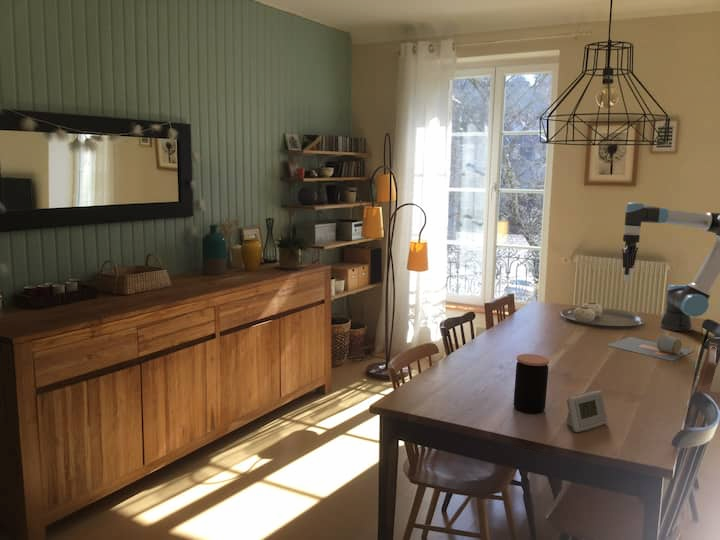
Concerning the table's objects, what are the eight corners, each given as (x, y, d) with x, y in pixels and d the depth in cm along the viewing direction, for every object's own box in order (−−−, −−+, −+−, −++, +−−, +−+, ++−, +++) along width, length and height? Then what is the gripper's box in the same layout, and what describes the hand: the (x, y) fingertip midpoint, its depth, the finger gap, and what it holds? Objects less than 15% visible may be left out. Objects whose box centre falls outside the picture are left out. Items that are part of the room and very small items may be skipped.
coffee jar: (550, 408, 227) (554, 358, 224) (535, 417, 219) (540, 365, 216) (522, 400, 234) (526, 351, 231) (507, 408, 226) (511, 358, 223)
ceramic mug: (673, 356, 293) (675, 339, 292) (655, 351, 300) (657, 334, 299) (684, 352, 300) (687, 336, 299) (667, 348, 306) (669, 332, 305)
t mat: (629, 337, 324) (629, 336, 324) (693, 351, 303) (693, 351, 303) (606, 345, 308) (606, 345, 308) (672, 361, 286) (672, 360, 286)
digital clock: (574, 434, 206) (577, 402, 204) (555, 423, 214) (558, 392, 213) (615, 428, 212) (618, 396, 210) (595, 417, 220) (598, 387, 219)
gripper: (630, 232, 332) (625, 278, 336) (618, 233, 323) (613, 281, 327) (645, 234, 326) (640, 280, 330) (633, 235, 317) (628, 283, 322)
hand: (626, 280), depth 329 cm, fingers closed
